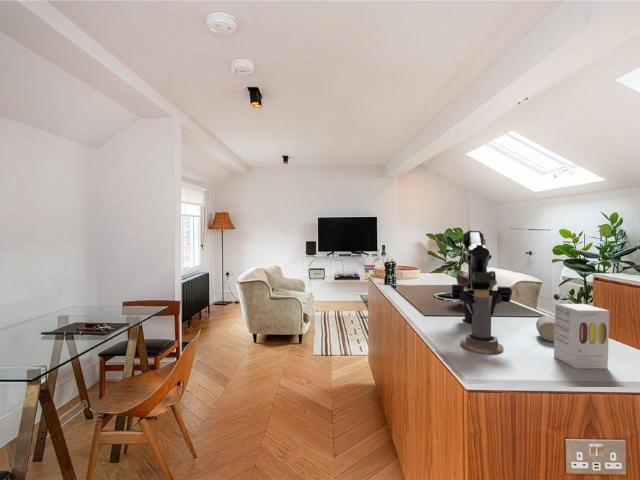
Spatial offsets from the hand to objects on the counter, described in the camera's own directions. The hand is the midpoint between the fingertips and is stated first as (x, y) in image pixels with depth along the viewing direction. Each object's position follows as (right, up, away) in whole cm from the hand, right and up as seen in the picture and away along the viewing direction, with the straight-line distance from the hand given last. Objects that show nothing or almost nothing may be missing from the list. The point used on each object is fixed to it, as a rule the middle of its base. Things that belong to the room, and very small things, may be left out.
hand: (482, 314), depth 110 cm
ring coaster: (0, -11, +1) cm, 11 cm away
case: (+28, -10, +63) cm, 69 cm away
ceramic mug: (+30, -11, +9) cm, 33 cm away
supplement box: (+23, -12, -12) cm, 29 cm away
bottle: (0, -8, +2) cm, 8 cm away
